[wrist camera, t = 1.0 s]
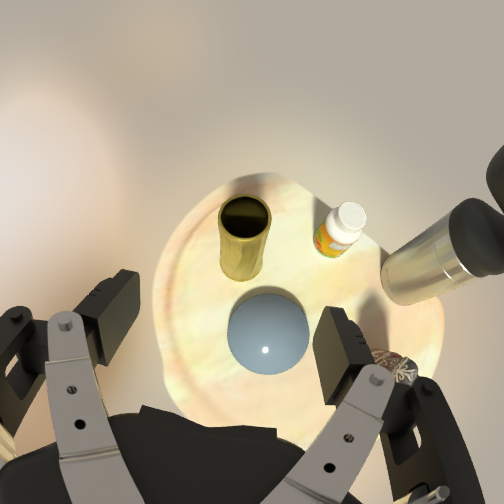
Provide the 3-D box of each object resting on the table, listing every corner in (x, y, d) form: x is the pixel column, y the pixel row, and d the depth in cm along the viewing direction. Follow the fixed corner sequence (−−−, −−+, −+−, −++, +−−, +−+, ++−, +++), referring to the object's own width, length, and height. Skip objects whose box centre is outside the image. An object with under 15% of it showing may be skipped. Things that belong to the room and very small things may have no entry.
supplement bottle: (314, 224, 43) (334, 191, 34) (345, 231, 43) (371, 202, 34) (311, 255, 41) (332, 229, 32) (343, 262, 41) (371, 238, 32)
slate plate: (298, 290, 39) (301, 288, 37) (312, 364, 35) (315, 365, 34) (222, 302, 38) (221, 300, 36) (234, 379, 34) (234, 380, 33)
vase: (211, 259, 40) (200, 212, 26) (243, 233, 41) (248, 179, 28) (238, 290, 38) (241, 258, 25) (270, 263, 40) (289, 220, 27)
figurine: (366, 340, 37) (412, 333, 26) (395, 365, 36) (444, 365, 24) (338, 378, 35) (378, 387, 24) (369, 402, 33) (415, 416, 22)
